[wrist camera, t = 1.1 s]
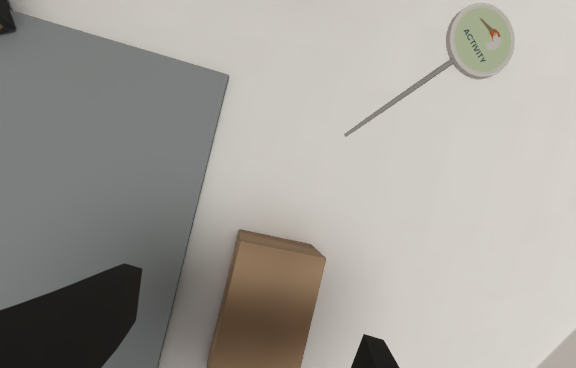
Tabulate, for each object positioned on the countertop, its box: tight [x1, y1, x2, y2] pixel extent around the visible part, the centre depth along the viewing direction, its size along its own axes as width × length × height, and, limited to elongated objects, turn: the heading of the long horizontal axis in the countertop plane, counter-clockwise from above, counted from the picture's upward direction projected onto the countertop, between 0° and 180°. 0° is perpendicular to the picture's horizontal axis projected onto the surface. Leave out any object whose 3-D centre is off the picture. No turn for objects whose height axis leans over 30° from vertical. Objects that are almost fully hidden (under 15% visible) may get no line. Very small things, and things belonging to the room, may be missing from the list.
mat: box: [0, 10, 229, 368], centre depth 20 cm, size 20×15×1 cm
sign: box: [344, 3, 514, 137], centre depth 24 cm, size 5×1×15 cm
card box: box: [207, 229, 326, 368], centre depth 21 cm, size 9×5×4 cm, turn 167°
